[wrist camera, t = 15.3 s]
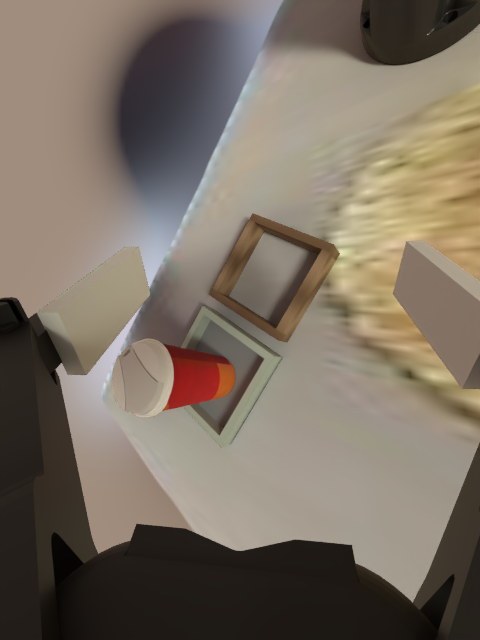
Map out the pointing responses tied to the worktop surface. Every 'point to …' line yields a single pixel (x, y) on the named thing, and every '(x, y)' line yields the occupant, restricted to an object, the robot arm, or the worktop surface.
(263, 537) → the worktop surface
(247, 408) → the green square tray
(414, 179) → the worktop surface
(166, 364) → the coffee cup
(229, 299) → the walnut tray
